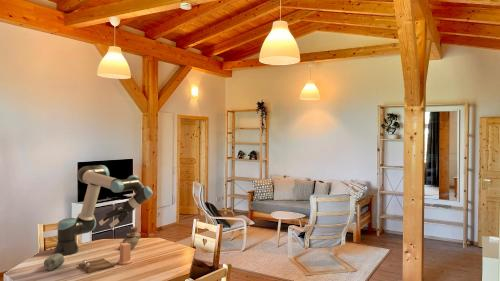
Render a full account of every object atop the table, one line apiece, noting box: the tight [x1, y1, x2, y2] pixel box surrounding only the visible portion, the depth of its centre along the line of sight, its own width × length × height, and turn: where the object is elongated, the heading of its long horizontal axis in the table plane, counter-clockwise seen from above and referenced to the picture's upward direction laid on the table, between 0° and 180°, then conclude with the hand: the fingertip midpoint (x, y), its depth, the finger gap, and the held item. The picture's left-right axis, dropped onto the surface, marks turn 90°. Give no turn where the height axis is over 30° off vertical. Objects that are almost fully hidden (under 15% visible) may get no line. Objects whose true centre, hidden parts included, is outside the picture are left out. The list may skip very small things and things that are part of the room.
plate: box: [78, 258, 115, 274], centre depth 231 cm, size 16×16×2 cm
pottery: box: [122, 226, 142, 250], centre depth 277 cm, size 11×25×12 cm, turn 8°
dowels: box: [81, 260, 90, 269], centre depth 227 cm, size 8×2×3 cm, turn 45°
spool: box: [43, 253, 65, 271], centre depth 228 cm, size 14×10×10 cm
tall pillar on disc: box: [117, 242, 133, 266], centre depth 240 cm, size 9×9×12 cm
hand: (105, 225), depth 237 cm, fingers open, 13 cm apart
